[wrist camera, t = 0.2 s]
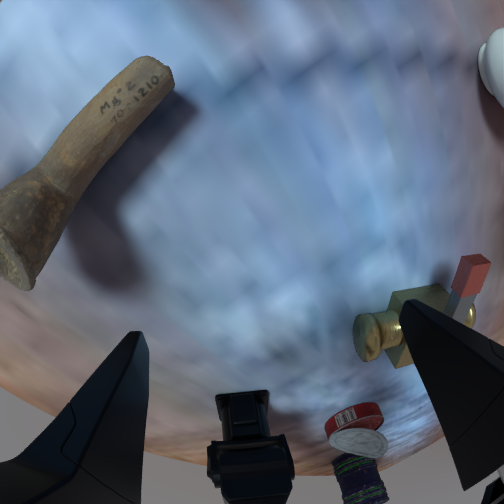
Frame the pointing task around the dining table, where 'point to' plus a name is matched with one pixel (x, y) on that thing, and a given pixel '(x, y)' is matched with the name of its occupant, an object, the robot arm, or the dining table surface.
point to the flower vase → (493, 64)
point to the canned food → (358, 430)
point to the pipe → (73, 168)
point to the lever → (466, 286)
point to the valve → (396, 325)
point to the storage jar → (359, 480)
